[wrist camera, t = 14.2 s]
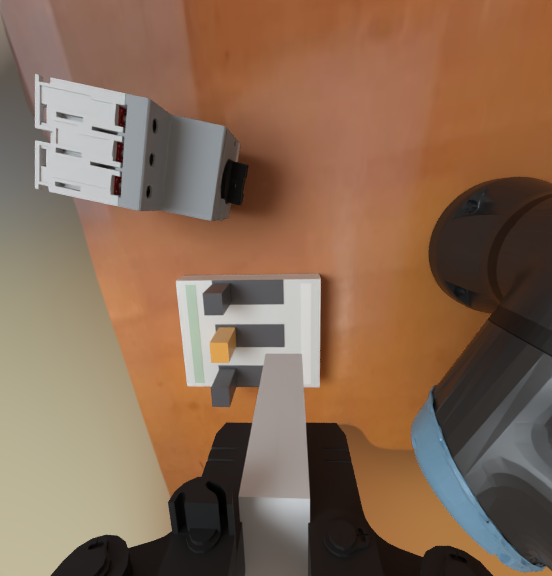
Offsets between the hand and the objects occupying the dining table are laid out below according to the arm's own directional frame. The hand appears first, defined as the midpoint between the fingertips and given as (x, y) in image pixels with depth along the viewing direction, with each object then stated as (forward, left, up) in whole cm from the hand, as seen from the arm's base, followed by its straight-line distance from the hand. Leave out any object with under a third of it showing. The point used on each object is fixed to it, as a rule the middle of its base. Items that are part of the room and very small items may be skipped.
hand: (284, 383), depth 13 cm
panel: (+5, +8, -26) cm, 28 cm away
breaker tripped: (+8, +8, -23) cm, 26 cm away
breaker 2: (+8, +14, -23) cm, 28 cm away
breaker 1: (+8, +2, -23) cm, 25 cm away
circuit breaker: (+11, -11, -27) cm, 31 cm away
